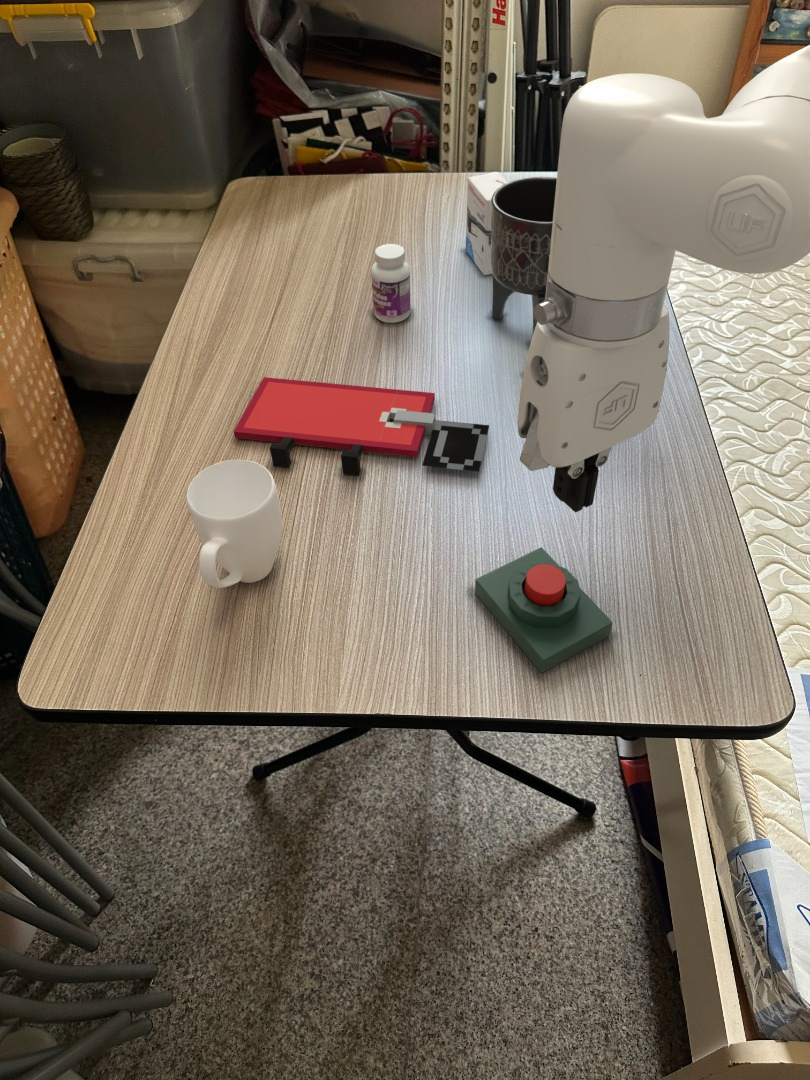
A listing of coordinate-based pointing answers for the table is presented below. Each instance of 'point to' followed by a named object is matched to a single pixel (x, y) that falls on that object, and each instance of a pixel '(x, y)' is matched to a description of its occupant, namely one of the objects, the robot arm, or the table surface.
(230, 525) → the mug
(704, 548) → the table surface
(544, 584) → the button
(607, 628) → the button box
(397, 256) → the pill bottle
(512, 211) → the planter
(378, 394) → the red board with handle
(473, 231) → the ink box
